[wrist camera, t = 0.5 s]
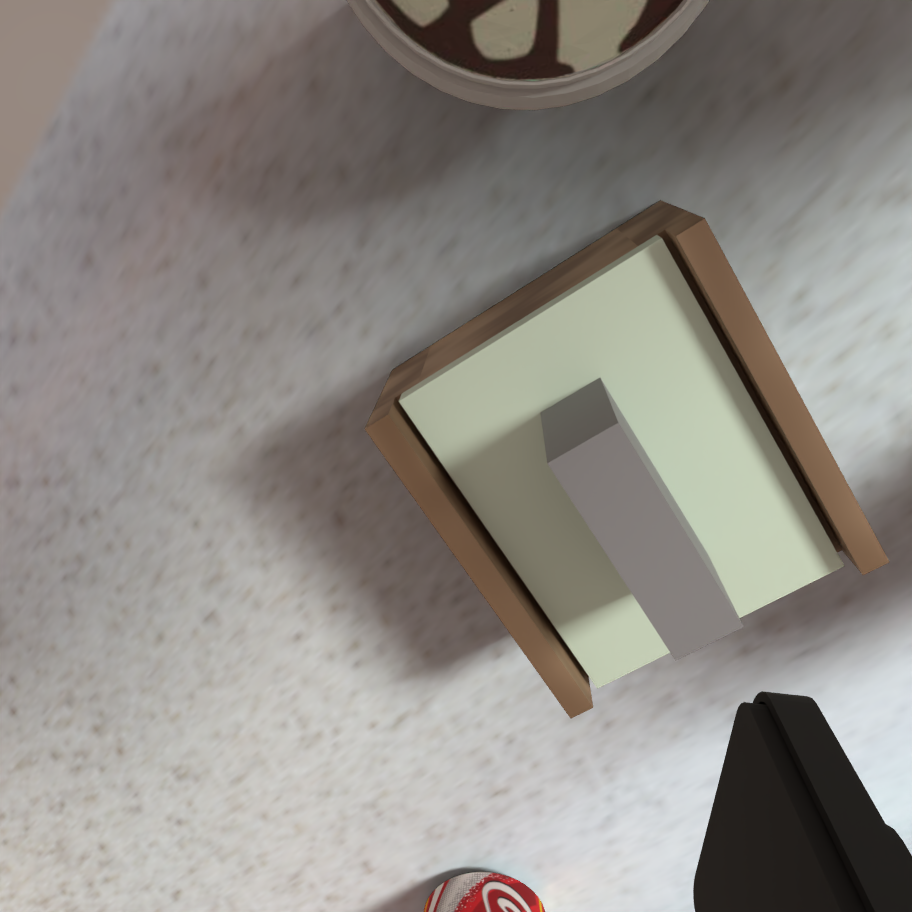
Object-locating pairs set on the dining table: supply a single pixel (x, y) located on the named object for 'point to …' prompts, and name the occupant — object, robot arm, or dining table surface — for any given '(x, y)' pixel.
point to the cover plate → (672, 426)
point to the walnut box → (748, 357)
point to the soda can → (483, 895)
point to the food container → (526, 44)
